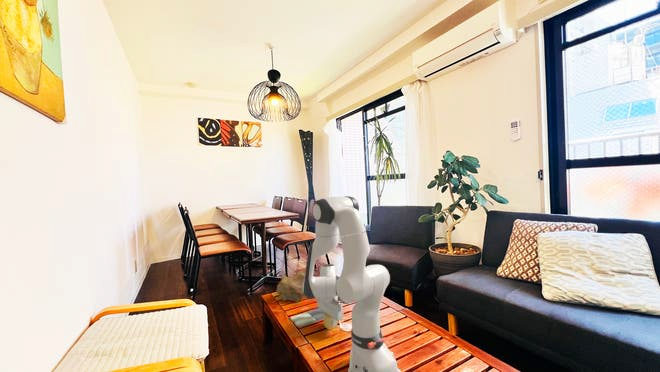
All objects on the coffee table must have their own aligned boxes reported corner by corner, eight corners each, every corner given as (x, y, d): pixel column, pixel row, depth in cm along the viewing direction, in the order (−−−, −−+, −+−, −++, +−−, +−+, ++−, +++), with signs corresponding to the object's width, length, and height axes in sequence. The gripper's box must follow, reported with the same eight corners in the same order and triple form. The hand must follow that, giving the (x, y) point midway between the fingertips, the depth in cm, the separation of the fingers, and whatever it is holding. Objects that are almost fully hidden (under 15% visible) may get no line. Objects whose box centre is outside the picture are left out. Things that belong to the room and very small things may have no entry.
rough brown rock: (291, 310, 161) (292, 285, 160) (272, 301, 171) (273, 277, 170) (316, 297, 179) (317, 275, 179) (298, 289, 189) (299, 268, 189)
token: (337, 326, 139) (336, 315, 139) (329, 329, 136) (328, 318, 136) (332, 322, 143) (331, 311, 143) (323, 325, 140) (323, 314, 140)
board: (333, 315, 150) (333, 314, 150) (299, 328, 139) (299, 326, 139) (322, 307, 160) (322, 306, 160) (289, 318, 149) (289, 317, 149)
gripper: (345, 300, 132) (347, 328, 132) (324, 287, 149) (325, 312, 150) (335, 304, 129) (336, 333, 129) (314, 290, 146) (315, 316, 146)
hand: (330, 322), depth 139 cm, fingers closed on token, 5 cm apart
